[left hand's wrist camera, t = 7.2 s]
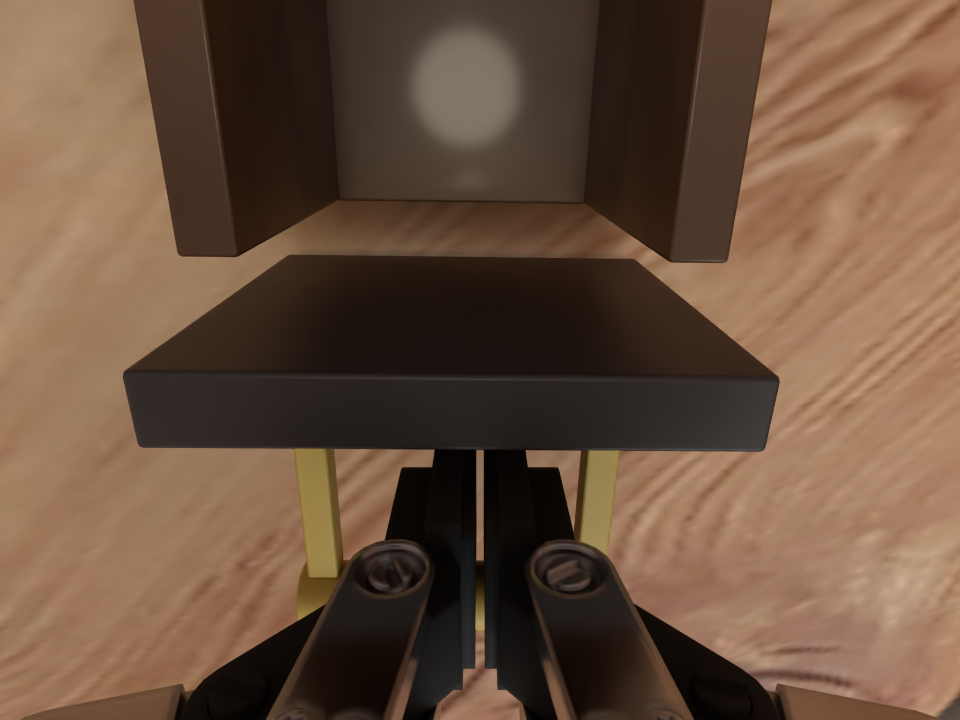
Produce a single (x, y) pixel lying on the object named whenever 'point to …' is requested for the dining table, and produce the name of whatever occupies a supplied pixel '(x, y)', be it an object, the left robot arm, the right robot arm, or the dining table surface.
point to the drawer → (452, 280)
